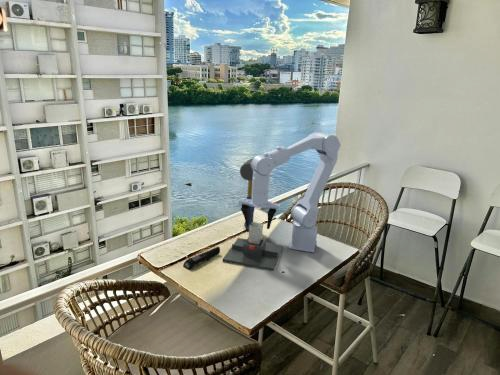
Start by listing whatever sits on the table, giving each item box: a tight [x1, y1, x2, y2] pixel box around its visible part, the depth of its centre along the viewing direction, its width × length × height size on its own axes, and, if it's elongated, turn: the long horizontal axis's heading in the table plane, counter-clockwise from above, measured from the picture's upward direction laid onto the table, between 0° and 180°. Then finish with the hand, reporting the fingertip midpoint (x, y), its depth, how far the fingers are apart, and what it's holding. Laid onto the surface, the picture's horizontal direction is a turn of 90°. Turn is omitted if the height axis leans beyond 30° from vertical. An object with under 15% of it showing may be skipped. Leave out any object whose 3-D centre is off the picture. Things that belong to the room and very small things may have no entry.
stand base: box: [222, 236, 284, 272], centre depth 130 cm, size 18×18×5 cm
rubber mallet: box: [239, 157, 256, 231], centre depth 147 cm, size 12×8×30 cm, turn 164°
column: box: [248, 221, 264, 246], centre depth 128 cm, size 4×4×8 cm
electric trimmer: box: [182, 246, 221, 271], centre depth 124 cm, size 4×16×3 cm, turn 140°
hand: (258, 226), depth 129 cm, fingers open, 7 cm apart
